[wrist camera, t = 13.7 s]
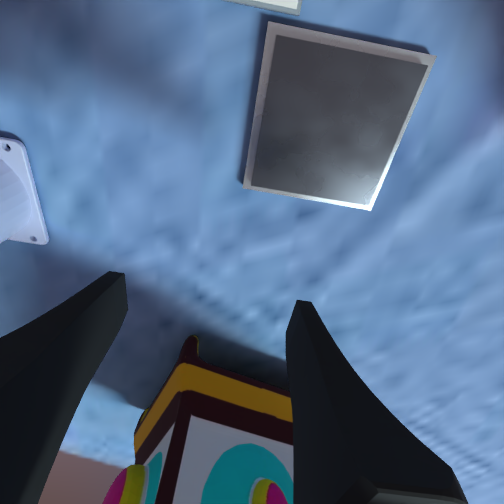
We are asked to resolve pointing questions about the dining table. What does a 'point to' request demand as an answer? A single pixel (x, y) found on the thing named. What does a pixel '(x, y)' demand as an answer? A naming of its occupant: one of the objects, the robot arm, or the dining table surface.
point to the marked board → (273, 5)
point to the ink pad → (330, 115)
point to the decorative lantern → (210, 440)
